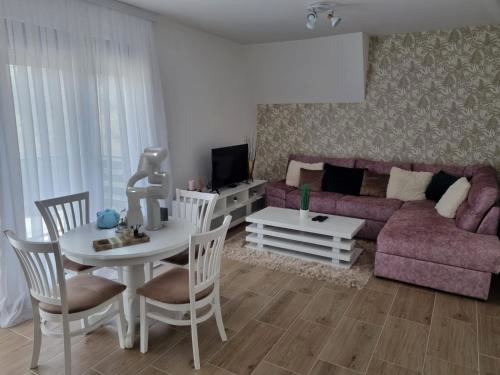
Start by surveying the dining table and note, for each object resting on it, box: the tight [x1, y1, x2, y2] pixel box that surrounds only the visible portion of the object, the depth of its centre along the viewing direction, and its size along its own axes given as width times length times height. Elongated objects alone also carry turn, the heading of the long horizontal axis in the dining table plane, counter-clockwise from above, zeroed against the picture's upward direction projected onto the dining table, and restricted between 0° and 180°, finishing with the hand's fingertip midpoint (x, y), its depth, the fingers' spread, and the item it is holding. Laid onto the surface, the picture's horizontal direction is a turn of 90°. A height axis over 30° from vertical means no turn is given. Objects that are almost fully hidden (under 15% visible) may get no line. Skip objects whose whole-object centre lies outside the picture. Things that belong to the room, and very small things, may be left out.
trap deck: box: [92, 231, 151, 252], centre depth 232 cm, size 33×13×3 cm, turn 122°
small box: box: [160, 206, 169, 222], centre depth 282 cm, size 11×6×10 cm, turn 71°
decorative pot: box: [96, 208, 121, 229], centre depth 268 cm, size 16×16×14 cm
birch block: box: [122, 228, 134, 240], centre depth 234 cm, size 5×6×5 cm
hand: (136, 234), depth 237 cm, fingers closed
